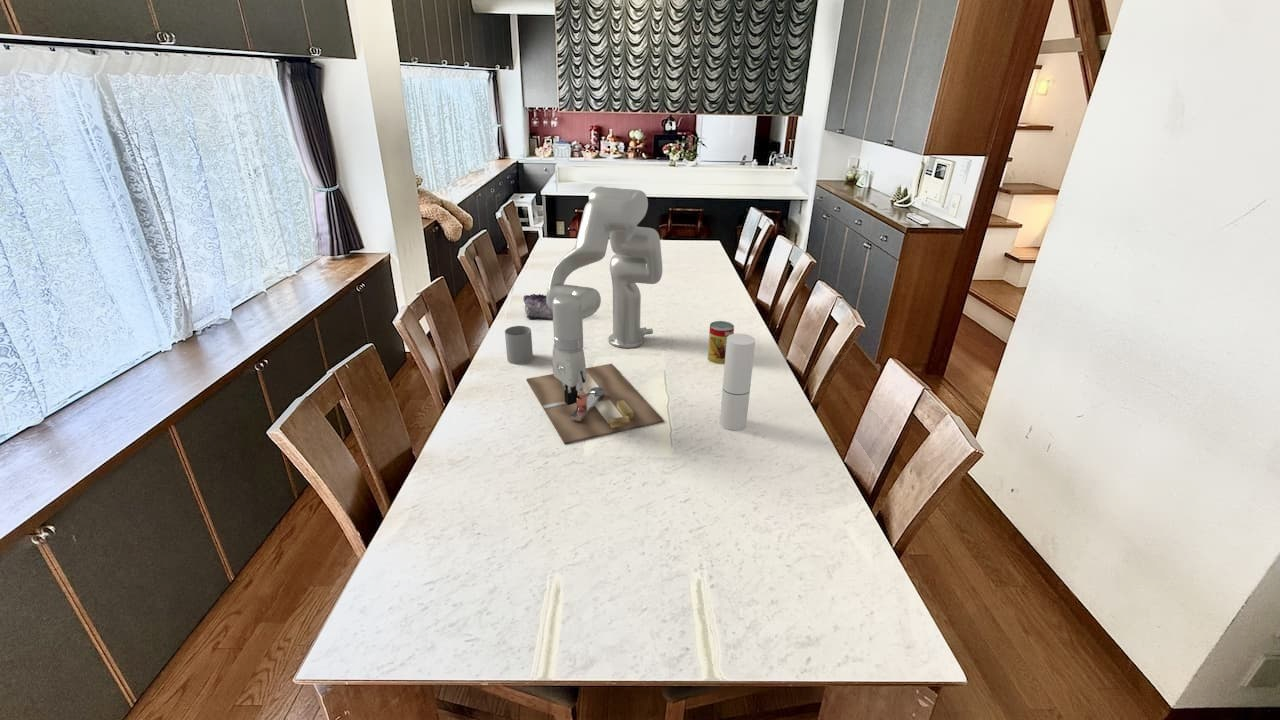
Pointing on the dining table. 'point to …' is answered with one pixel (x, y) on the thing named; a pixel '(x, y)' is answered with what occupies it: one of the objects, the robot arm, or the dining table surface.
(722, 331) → the canned food
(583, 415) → the arm
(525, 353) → the cup
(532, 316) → the geode
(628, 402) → the board
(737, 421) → the cylindrical container
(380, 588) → the dining table surface
